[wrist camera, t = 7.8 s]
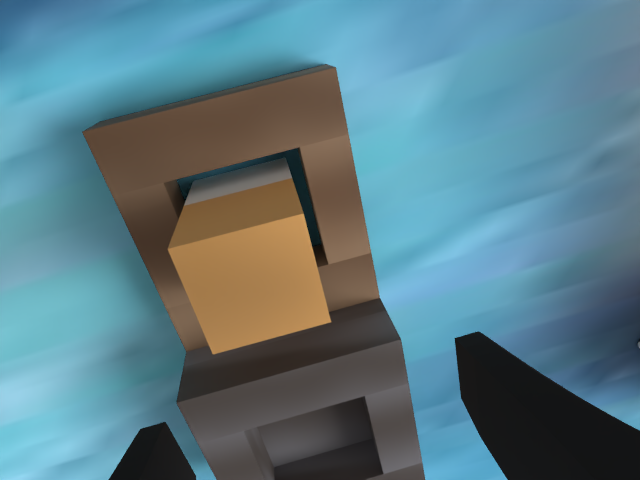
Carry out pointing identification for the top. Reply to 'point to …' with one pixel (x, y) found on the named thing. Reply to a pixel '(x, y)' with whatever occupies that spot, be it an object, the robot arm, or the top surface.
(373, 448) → the wooden base
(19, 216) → the top surface
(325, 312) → the plug
